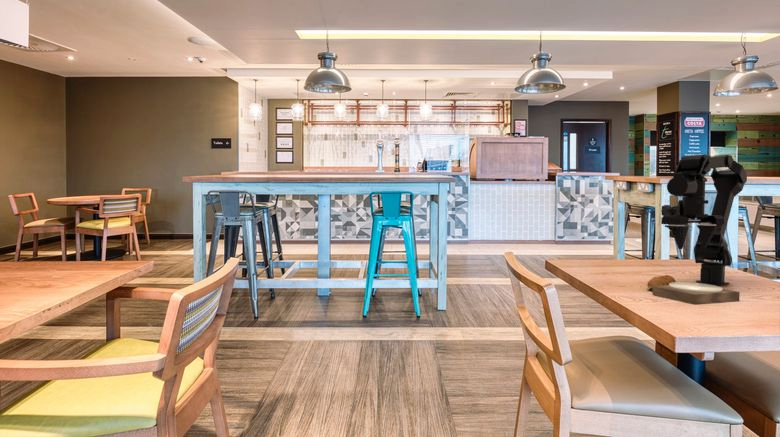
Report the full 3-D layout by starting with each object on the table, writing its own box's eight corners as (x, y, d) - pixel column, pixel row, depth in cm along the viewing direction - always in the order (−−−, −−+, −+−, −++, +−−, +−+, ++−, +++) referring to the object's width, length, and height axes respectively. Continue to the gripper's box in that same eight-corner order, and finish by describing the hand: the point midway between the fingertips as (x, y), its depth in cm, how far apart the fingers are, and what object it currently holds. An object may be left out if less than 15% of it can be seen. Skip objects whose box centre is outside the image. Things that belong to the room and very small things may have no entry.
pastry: (663, 292, 137) (664, 279, 137) (640, 288, 143) (641, 275, 142) (679, 289, 142) (680, 276, 142) (656, 285, 148) (656, 273, 148)
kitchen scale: (694, 292, 140) (695, 280, 140) (739, 300, 127) (739, 288, 127) (652, 294, 135) (652, 283, 135) (694, 304, 122) (694, 291, 122)
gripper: (692, 197, 153) (690, 245, 153) (646, 196, 147) (645, 246, 147) (726, 197, 142) (724, 249, 143) (678, 196, 136) (677, 250, 137)
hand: (691, 248), depth 143 cm, fingers open, 9 cm apart
